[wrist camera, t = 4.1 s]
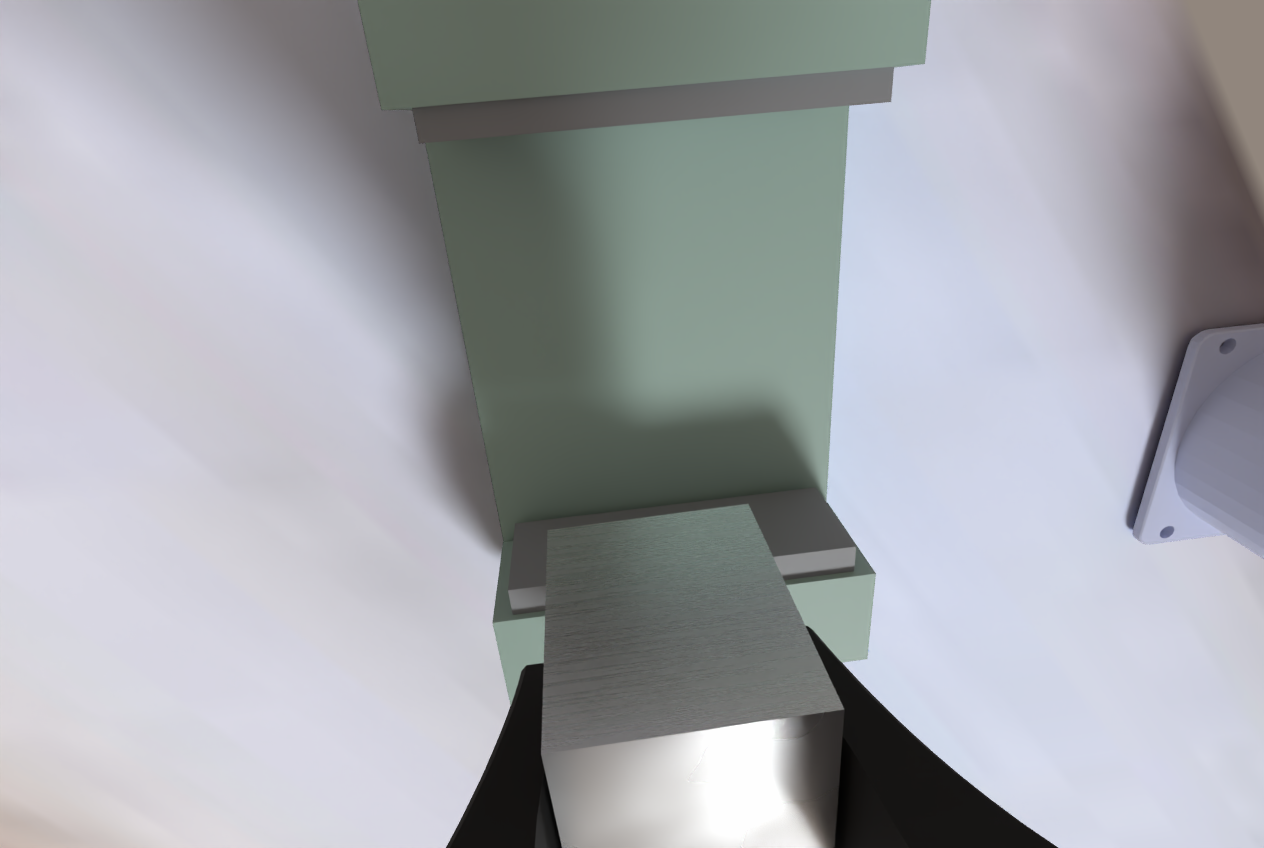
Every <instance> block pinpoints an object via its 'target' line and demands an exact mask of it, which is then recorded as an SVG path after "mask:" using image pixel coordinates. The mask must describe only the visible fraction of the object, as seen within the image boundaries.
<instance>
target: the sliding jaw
mask: <svg viewBox="0 0 1264 848" xmlns="http://www.w3.org/2000/svg"><path fill="white" fill-rule="evenodd" d="M741 504H749V506H750V508H751V511H752V513H753V515H754V517H755V519H756V521H757V523H758V526H759V528H760V530H761V532H762V534H763V536H764V538H765V541H766V543H767V545H768V547H769V549H770V551H771V553H772V556H773V558H774V560H775V562H776V564H777V566H778V568H779V571H780V573H781V575H782V577H783V579H784V581H785V583H786V586H787V588H788V590H789V592H790V594H791V596H792V598H793V601H794V603H795V605H796V607H797V609H798V611H799V613H800V615H801V618H802V620H803V622H804V624H805V626H809V627H810V628H811V629H813V630H814V632H815V633H816V634H817V635H818V636H819V637H820V639H821V640H822V641H823V642H824V643H825V644H826V646H827V647H828V648H829V649H830V650H831V651H832V652H833V653H834V655H835V656H836V657H837V658H838V659H839V660H840V661H841V662H849V661H856V660H864V659H867V656H868V646H869V636H870V626H871V616H872V606H873V596H874V586H875V576H876V573H875V572H874V570H873V569H872V567H871V566H870V564H869V563H868V562H867V560H866V559H865V557H864V556H863V554H862V553H861V551H860V550H859V548H858V547H857V545H856V544H855V542H854V541H853V539H852V538H851V537H850V535H849V534H848V532H847V531H846V529H845V528H844V526H843V525H842V523H841V522H840V520H839V519H838V517H837V516H836V514H835V513H834V512H833V510H832V509H831V507H830V506H829V504H828V503H826V501H825V500H824V498H823V497H822V495H821V494H820V492H819V491H818V489H817V488H816V487H814V488H806V489H798V490H789V491H781V492H773V493H765V494H756V495H748V496H740V497H731V498H723V499H715V500H706V501H698V502H690V503H681V504H673V505H665V506H657V507H648V508H640V509H632V510H623V511H615V512H607V513H598V514H590V515H582V516H573V517H565V518H557V519H548V520H540V521H532V522H524V523H515V529H514V538H513V541H508V542H503V547H502V554H501V562H500V570H499V577H498V585H497V593H496V600H495V608H494V616H493V627H494V632H495V636H496V641H497V645H498V650H499V654H500V659H501V664H502V668H503V673H504V677H505V682H506V686H507V691H508V695H509V700H510V705H511V704H512V701H513V698H514V695H515V692H516V688H517V685H518V682H519V678H520V674H521V671H522V670H523V669H524V667H525V666H526V665H532V664H539V663H544V637H545V603H546V568H547V534H548V530H552V529H560V528H567V527H575V526H583V525H590V524H598V523H605V522H613V521H620V520H628V519H635V518H643V517H651V516H658V515H666V514H673V513H681V512H688V511H696V510H704V509H711V508H719V507H726V506H734V505H741Z"/></svg>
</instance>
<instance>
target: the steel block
mask: <svg viewBox="0 0 1264 848" xmlns="http://www.w3.org/2000/svg"><path fill="white" fill-rule="evenodd" d="M843 722H844V708H843V705H842V703H841V701H840V699H839V697H838V695H837V693H836V690H835V688H834V686H833V684H832V682H831V680H830V678H829V675H828V673H827V671H826V669H825V667H824V665H823V663H822V660H821V658H820V656H819V654H818V652H817V650H816V648H815V645H814V643H813V641H812V639H811V637H810V635H809V633H808V630H807V628H806V626H805V624H804V622H803V620H802V618H801V615H800V613H799V611H798V609H797V607H796V605H795V603H794V601H793V598H792V596H791V594H790V592H789V590H788V588H787V586H786V583H785V581H784V579H783V577H782V575H781V573H780V571H779V568H778V566H777V564H776V562H775V560H774V558H773V556H772V553H771V551H770V549H769V547H768V545H767V543H766V541H765V538H764V536H763V534H762V532H761V530H760V528H759V526H758V523H757V521H756V519H755V517H754V515H753V513H752V511H751V508H750V506H749V504H741V505H734V506H726V507H719V508H711V509H704V510H696V511H688V512H681V513H673V514H666V515H658V516H651V517H643V518H635V519H628V520H620V521H613V522H605V523H598V524H590V525H583V526H575V527H567V528H560V529H552V530H548V534H547V568H546V603H545V637H544V672H543V706H542V741H541V756H542V760H543V765H544V769H545V774H546V778H547V783H548V787H549V792H550V796H551V800H552V805H553V809H554V814H555V818H556V823H557V827H558V832H559V836H560V840H561V845H562V848H835V834H836V820H837V806H838V792H839V778H840V764H841V750H842V736H843Z"/></svg>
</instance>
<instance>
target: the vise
mask: <svg viewBox="0 0 1264 848" xmlns="http://www.w3.org/2000/svg"><path fill="white" fill-rule="evenodd" d="M358 5H359V10H360V14H361V19H362V23H363V28H364V33H365V37H366V42H367V46H368V51H369V55H370V60H371V65H372V69H373V74H374V78H375V83H376V87H377V92H378V97H379V101H380V106H381V110H413V115H414V120H415V125H416V130H417V135H418V140H419V144H420V143H425V144H426V149H427V154H428V159H429V164H430V169H431V174H432V180H433V185H434V190H435V195H436V200H437V205H438V210H439V215H440V220H441V225H442V230H443V236H444V241H445V246H446V251H447V256H448V261H449V266H450V271H451V276H452V281H453V286H454V292H455V297H456V302H457V307H458V312H459V317H460V322H461V327H462V332H463V337H464V342H465V348H466V353H467V358H468V363H469V368H470V373H471V378H472V383H473V388H474V393H475V398H476V404H477V409H478V414H479V419H480V424H481V429H482V434H483V439H484V444H485V449H486V454H487V460H488V465H489V470H490V475H491V480H492V485H493V490H494V495H495V500H496V505H497V510H498V516H499V521H500V526H501V531H502V536H503V541H504V542H508V541H513V538H514V529H515V523H524V522H532V521H540V520H548V519H557V518H565V517H573V516H582V515H590V514H598V513H607V512H615V511H623V510H632V509H640V508H648V507H657V506H665V505H673V504H681V503H690V502H698V501H706V500H715V499H723V498H731V497H740V496H748V495H756V494H765V493H773V492H781V491H789V490H798V489H806V488H814V487H816V488H817V489H818V491H819V492H820V494H821V495H822V497H823V498H824V500H825V501H826V497H827V479H828V462H829V444H830V427H831V410H832V392H833V375H834V358H835V340H836V323H837V305H838V288H839V271H840V253H841V236H842V218H843V201H844V184H845V166H846V149H847V131H848V114H849V105H861V104H872V103H883V102H891V96H892V83H893V71H894V67H903V66H911V65H919V64H925V56H926V46H927V36H928V26H929V16H930V6H931V0H358Z"/></svg>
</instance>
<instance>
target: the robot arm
mask: <svg viewBox="0 0 1264 848" xmlns="http://www.w3.org/2000/svg"><path fill="white" fill-rule="evenodd" d="M1224 341H1225V342H1224ZM1223 342H1224V343H1223ZM1222 343H1223V345H1222V346H1221V344H1222ZM1220 346H1221V347H1220ZM1219 535H1227V536H1228V537H1230V538H1231V539H1233V540H1235V541H1236V542H1238V543H1239V544H1241V545H1242V546H1244V547H1245V548H1247V549H1249V550H1250V551H1252V552H1253V553H1255V554H1256V555H1258V556H1260V557H1261V558H1263V559H1264V323H1261V324H1252V325H1243V326H1234V327H1225V328H1216V329H1207V330H1204V331H1201V332H1200V333H1198V334H1197V335H1195V336H1194V337H1193V338H1192V339H1191V341H1190V343H1189V345H1188V348H1187V351H1186V355H1185V358H1184V361H1183V365H1182V368H1181V371H1180V375H1179V378H1178V381H1177V385H1176V388H1175V391H1174V395H1173V398H1172V401H1171V405H1170V408H1169V411H1168V415H1167V418H1166V421H1165V425H1164V428H1163V431H1162V435H1161V438H1160V441H1159V445H1158V448H1157V451H1156V455H1155V458H1154V461H1153V465H1152V468H1151V471H1150V475H1149V478H1148V481H1147V485H1146V488H1145V491H1144V495H1143V498H1142V501H1141V505H1140V508H1139V511H1138V515H1137V518H1136V521H1135V525H1134V528H1133V536H1134V538H1136V539H1137V540H1138V541H1140V542H1141V543H1143V544H1157V543H1164V542H1172V541H1180V540H1188V539H1196V538H1203V537H1211V536H1219ZM806 628H807V630H808V633H809V635H810V637H811V639H812V641H813V643H814V645H815V648H816V650H817V652H818V654H819V656H820V658H821V660H822V663H823V665H824V667H825V669H826V671H827V673H828V675H829V678H830V680H831V682H832V684H833V686H834V688H835V690H836V693H837V695H838V697H839V699H840V701H841V703H842V705H843V708H844V722H843V736H842V750H841V764H840V778H839V792H838V806H837V820H836V834H835V848H1058V847H1057V846H1055V845H1054V844H1052V843H1051V842H1049V841H1048V840H1046V839H1045V838H1043V837H1042V836H1040V835H1039V834H1037V833H1036V832H1034V831H1033V830H1031V829H1030V828H1028V827H1027V826H1026V825H1024V824H1023V823H1021V822H1020V821H1019V820H1017V819H1016V818H1015V817H1013V816H1012V815H1011V814H1009V813H1008V812H1007V811H1005V810H1004V809H1003V808H1001V807H1000V806H999V805H997V804H996V803H995V802H993V801H992V800H991V799H989V798H988V797H987V796H985V795H984V794H983V793H982V792H980V791H979V790H978V789H977V788H975V787H974V786H973V785H972V784H970V783H969V782H968V781H967V780H965V779H964V778H963V777H962V776H960V775H959V774H958V773H957V772H956V771H954V770H953V769H952V768H951V767H950V766H948V765H947V764H946V763H945V762H944V761H943V760H941V759H940V758H939V757H938V756H937V755H936V754H934V753H933V752H932V751H931V750H930V749H929V748H928V747H927V746H926V745H924V744H923V743H922V742H921V741H920V740H919V739H918V738H917V737H916V736H914V735H913V734H912V733H911V732H910V731H909V730H908V729H907V728H906V727H905V726H904V725H903V724H902V723H901V722H899V721H898V720H897V719H896V718H895V717H894V716H893V715H892V714H891V713H890V712H889V711H888V710H887V709H886V708H885V707H884V706H883V705H882V704H881V703H880V702H879V701H878V700H877V699H876V698H875V697H874V696H873V695H872V694H871V693H870V692H869V691H868V690H867V689H866V688H865V687H864V686H863V685H862V684H861V683H860V682H859V681H858V680H857V678H856V677H855V676H854V675H853V674H852V673H851V672H850V671H849V670H848V669H847V668H846V667H845V666H844V664H843V663H842V662H841V661H840V660H839V659H838V658H837V657H836V656H835V655H834V653H833V652H832V651H831V650H830V649H829V648H828V647H827V646H826V644H825V643H824V642H823V641H822V640H821V639H820V637H819V636H818V635H817V634H816V633H815V632H814V630H813V629H811V628H810V627H809V626H806ZM543 672H544V663H539V664H532V665H526V666H525V667H524V669H523V670H522V671H521V674H520V678H519V682H518V685H517V688H516V692H515V695H514V698H513V701H512V704H511V706H510V709H509V712H508V715H507V717H506V720H505V723H504V725H503V728H502V731H501V733H500V736H499V738H498V740H497V743H496V745H495V747H494V750H493V752H492V754H491V757H490V759H489V762H488V764H487V766H486V769H485V771H484V773H483V775H482V777H481V780H480V782H479V784H478V786H477V788H476V790H475V792H474V794H473V796H472V798H471V800H470V802H469V804H468V806H467V808H466V810H465V812H464V814H463V816H462V818H461V820H460V822H459V824H458V826H457V828H456V830H455V832H454V834H453V836H452V837H451V839H450V841H449V843H448V845H447V847H446V848H562V845H561V840H560V836H559V832H558V827H557V823H556V818H555V814H554V809H553V805H552V800H551V796H550V792H549V787H548V783H547V778H546V774H545V769H544V765H543V760H542V756H541V741H542V706H543Z"/></svg>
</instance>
